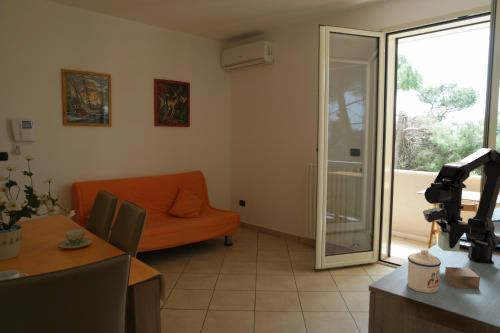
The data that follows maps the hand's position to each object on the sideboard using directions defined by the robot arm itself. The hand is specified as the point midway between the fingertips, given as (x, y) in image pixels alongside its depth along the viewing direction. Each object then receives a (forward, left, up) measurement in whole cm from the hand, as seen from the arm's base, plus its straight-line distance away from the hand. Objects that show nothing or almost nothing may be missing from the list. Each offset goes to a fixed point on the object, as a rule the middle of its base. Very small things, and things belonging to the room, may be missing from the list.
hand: (448, 245), depth 122 cm
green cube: (0, 0, -1) cm, 1 cm away
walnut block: (0, +12, -8) cm, 15 cm away
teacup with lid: (+12, +16, -8) cm, 22 cm away
